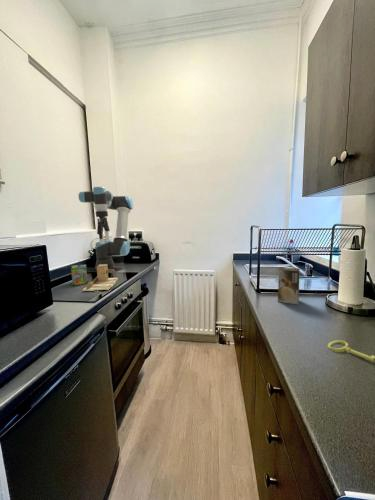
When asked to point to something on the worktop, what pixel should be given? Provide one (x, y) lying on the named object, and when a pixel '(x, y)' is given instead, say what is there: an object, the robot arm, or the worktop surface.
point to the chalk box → (79, 274)
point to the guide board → (100, 284)
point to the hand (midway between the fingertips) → (104, 242)
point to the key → (349, 350)
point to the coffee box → (288, 285)
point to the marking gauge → (103, 272)
